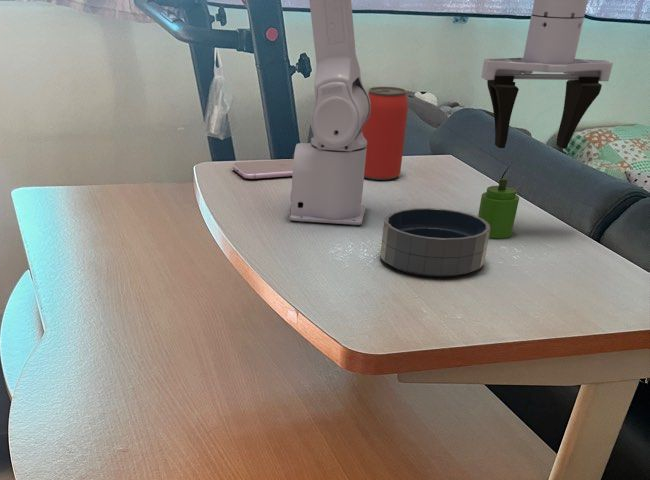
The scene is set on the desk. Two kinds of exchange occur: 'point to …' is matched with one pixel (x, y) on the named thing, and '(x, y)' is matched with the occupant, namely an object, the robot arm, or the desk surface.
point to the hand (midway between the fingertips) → (530, 146)
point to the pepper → (499, 209)
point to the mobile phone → (265, 169)
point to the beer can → (385, 132)
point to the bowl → (434, 242)
